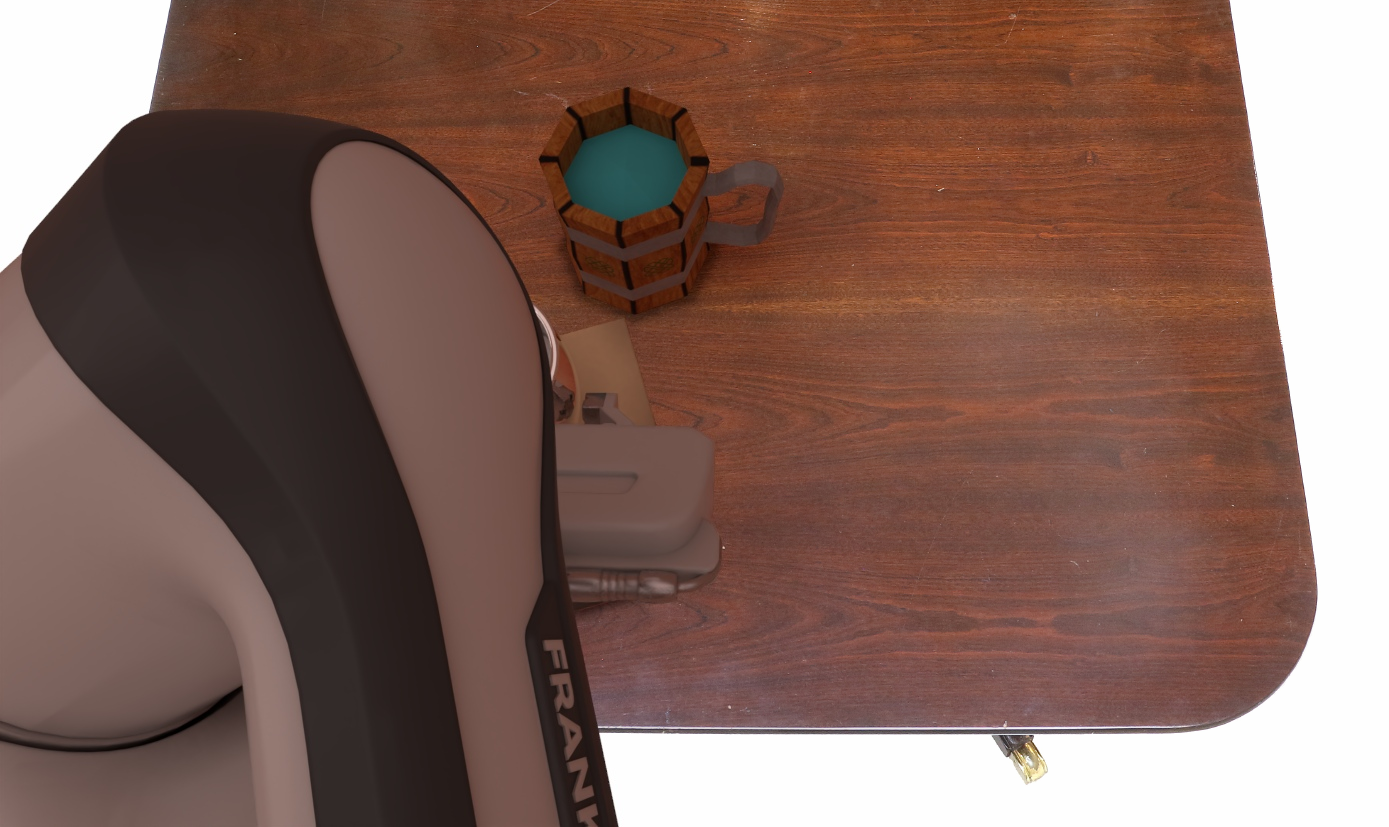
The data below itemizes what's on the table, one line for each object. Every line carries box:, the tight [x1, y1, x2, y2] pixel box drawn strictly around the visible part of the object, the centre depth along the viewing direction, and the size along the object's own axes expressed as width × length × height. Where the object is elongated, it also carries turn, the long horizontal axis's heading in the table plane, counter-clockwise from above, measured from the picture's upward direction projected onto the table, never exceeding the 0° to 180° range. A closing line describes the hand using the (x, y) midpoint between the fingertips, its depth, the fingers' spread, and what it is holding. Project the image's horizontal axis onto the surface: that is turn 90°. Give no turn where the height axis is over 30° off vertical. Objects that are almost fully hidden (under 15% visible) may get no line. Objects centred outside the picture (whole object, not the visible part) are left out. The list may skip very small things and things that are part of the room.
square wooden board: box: [558, 317, 657, 426], centre depth 54 cm, size 13×13×1 cm
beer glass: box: [531, 300, 585, 424], centre depth 46 cm, size 7×7×15 cm
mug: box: [537, 86, 785, 315], centre depth 80 cm, size 20×14×15 cm
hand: (503, 404), depth 44 cm, fingers open, 8 cm apart
